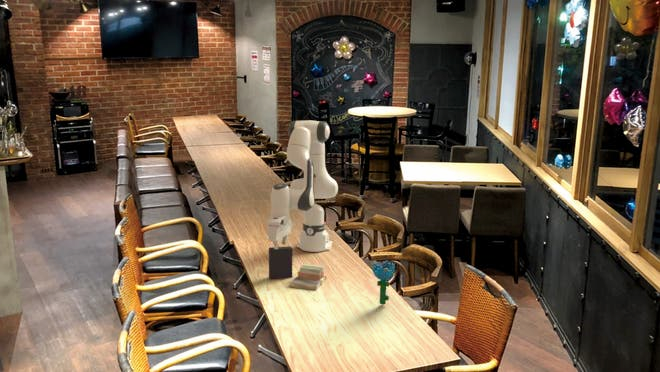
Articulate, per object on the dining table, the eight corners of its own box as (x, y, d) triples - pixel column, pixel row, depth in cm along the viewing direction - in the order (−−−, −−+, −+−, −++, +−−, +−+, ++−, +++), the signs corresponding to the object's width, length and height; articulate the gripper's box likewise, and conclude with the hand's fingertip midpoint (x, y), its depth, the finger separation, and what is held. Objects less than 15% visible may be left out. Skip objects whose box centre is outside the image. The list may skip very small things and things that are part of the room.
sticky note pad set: (301, 276, 289) (301, 262, 288) (326, 279, 285) (326, 265, 284) (289, 286, 275) (289, 272, 274) (316, 290, 271) (316, 275, 270)
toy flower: (368, 302, 258) (369, 262, 254) (384, 298, 263) (385, 259, 259) (380, 309, 250) (382, 268, 247) (397, 305, 255) (398, 264, 252)
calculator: (290, 275, 291) (290, 245, 288) (292, 278, 287) (292, 248, 284) (268, 276, 288) (268, 247, 285) (270, 279, 284) (269, 249, 281)
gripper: (282, 213, 293) (282, 240, 295) (265, 222, 273) (265, 251, 276) (294, 214, 291) (294, 241, 293) (278, 223, 271) (278, 252, 274)
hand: (280, 246), depth 284 cm, fingers open, 8 cm apart
